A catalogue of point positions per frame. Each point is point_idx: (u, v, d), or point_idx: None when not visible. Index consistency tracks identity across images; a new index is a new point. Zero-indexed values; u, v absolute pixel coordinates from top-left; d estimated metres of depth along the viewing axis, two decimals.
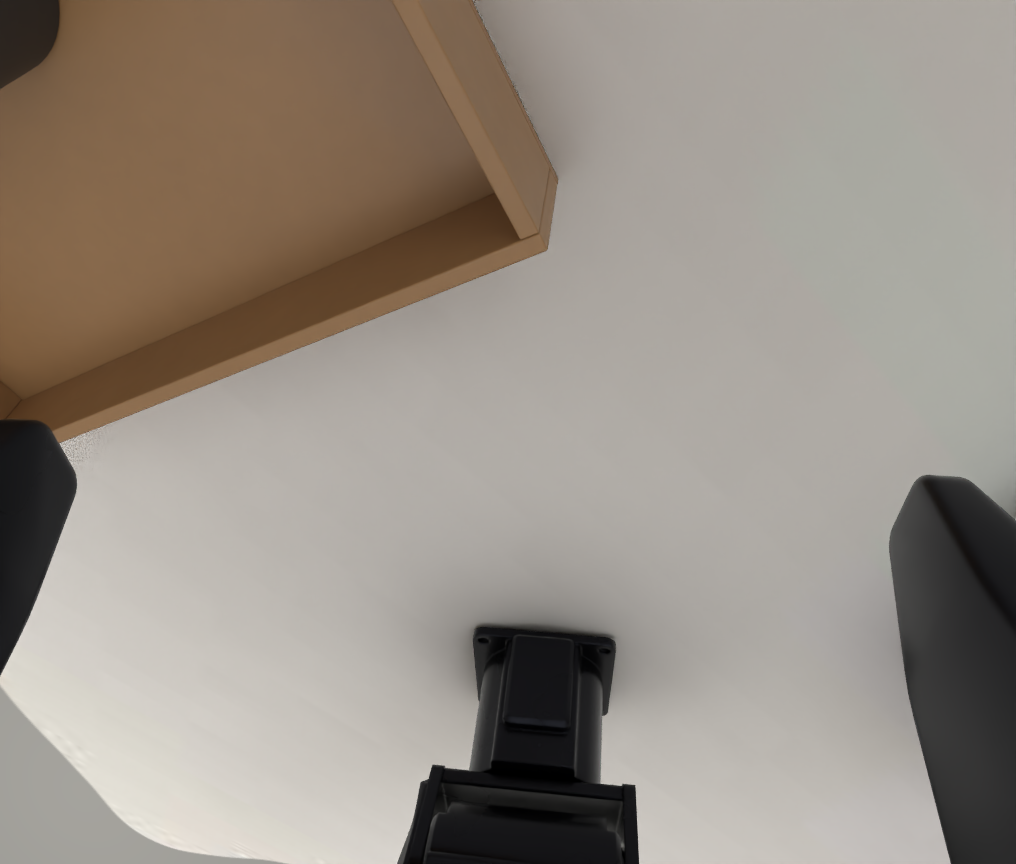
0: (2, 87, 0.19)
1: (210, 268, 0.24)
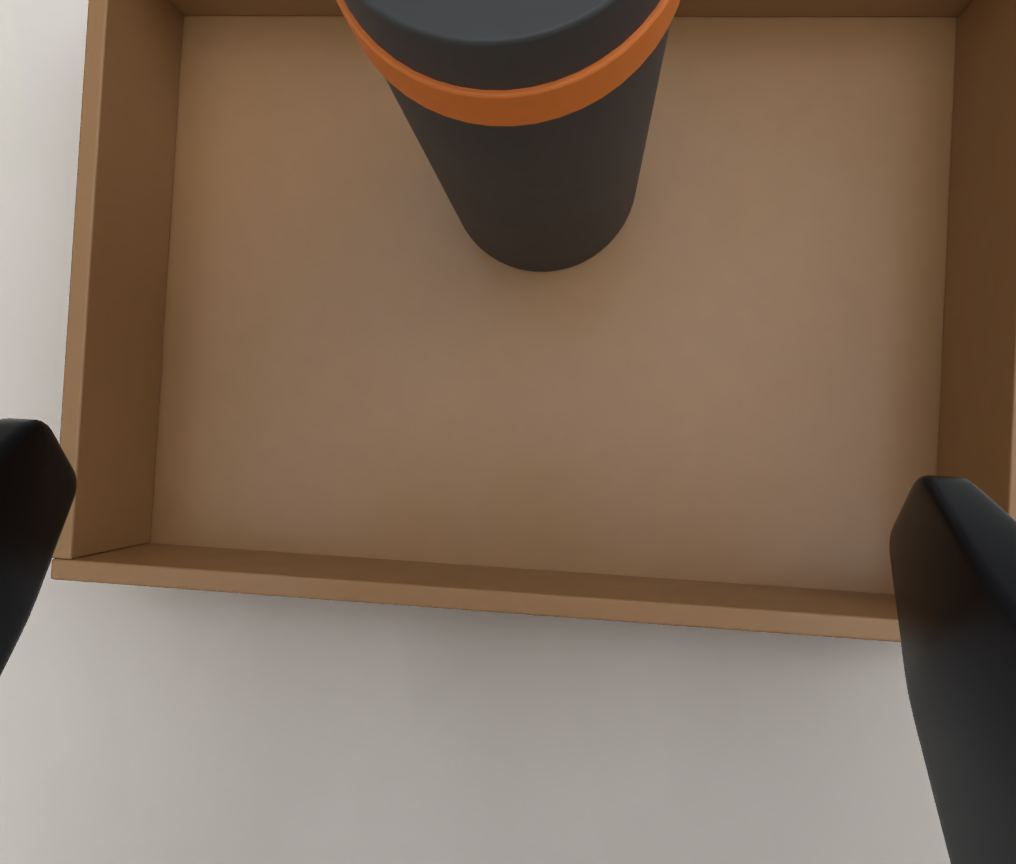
0: (533, 258, 0.20)
1: (529, 517, 0.21)
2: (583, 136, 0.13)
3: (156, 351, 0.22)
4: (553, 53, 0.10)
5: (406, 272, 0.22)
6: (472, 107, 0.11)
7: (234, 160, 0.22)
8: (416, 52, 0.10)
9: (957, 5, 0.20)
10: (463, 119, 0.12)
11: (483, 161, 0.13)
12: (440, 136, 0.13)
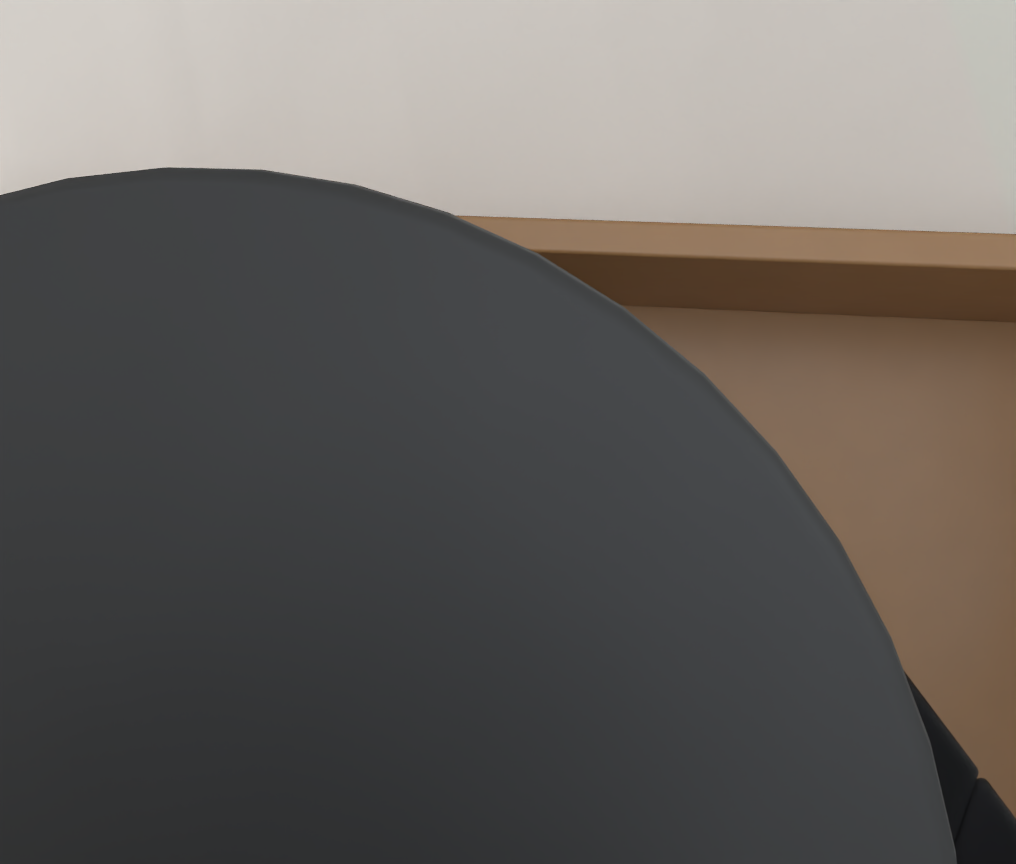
0: None
1: None
2: None
3: None
4: None
5: None
6: None
7: None
8: None
9: None
10: None
11: None
12: None
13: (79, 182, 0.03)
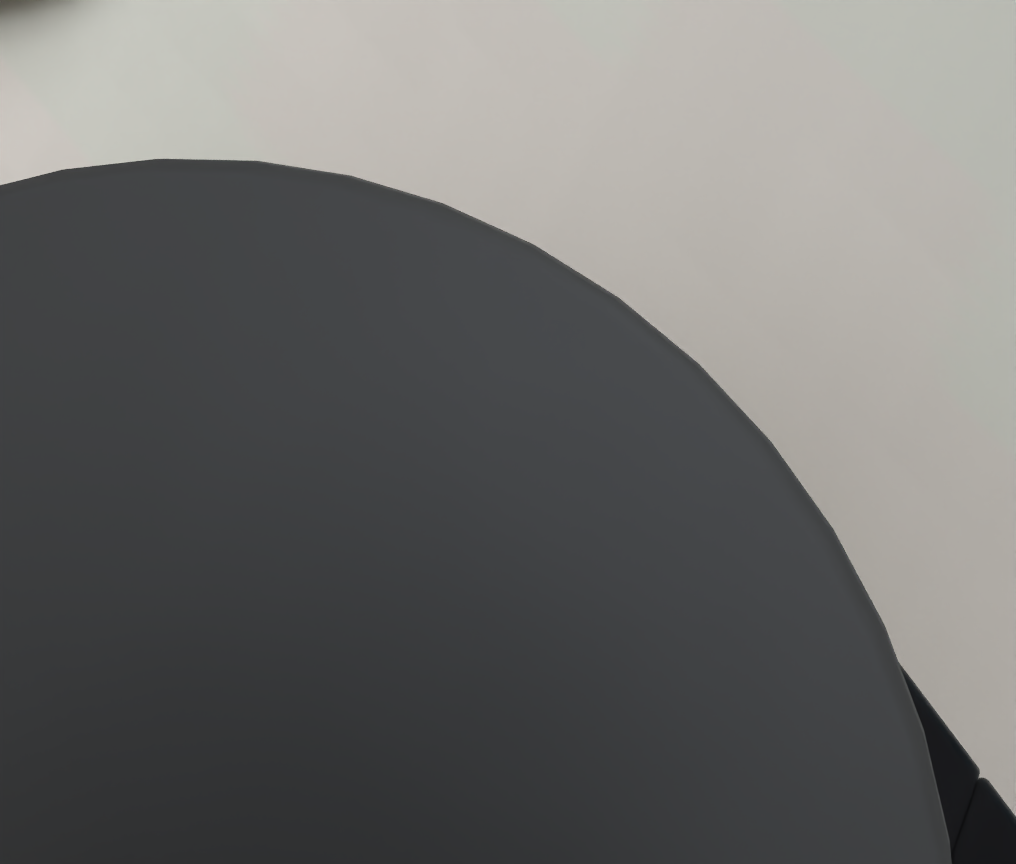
0: None
1: None
2: None
3: None
4: None
5: None
6: None
7: None
8: None
9: None
10: None
11: None
12: None
13: (73, 171, 0.03)
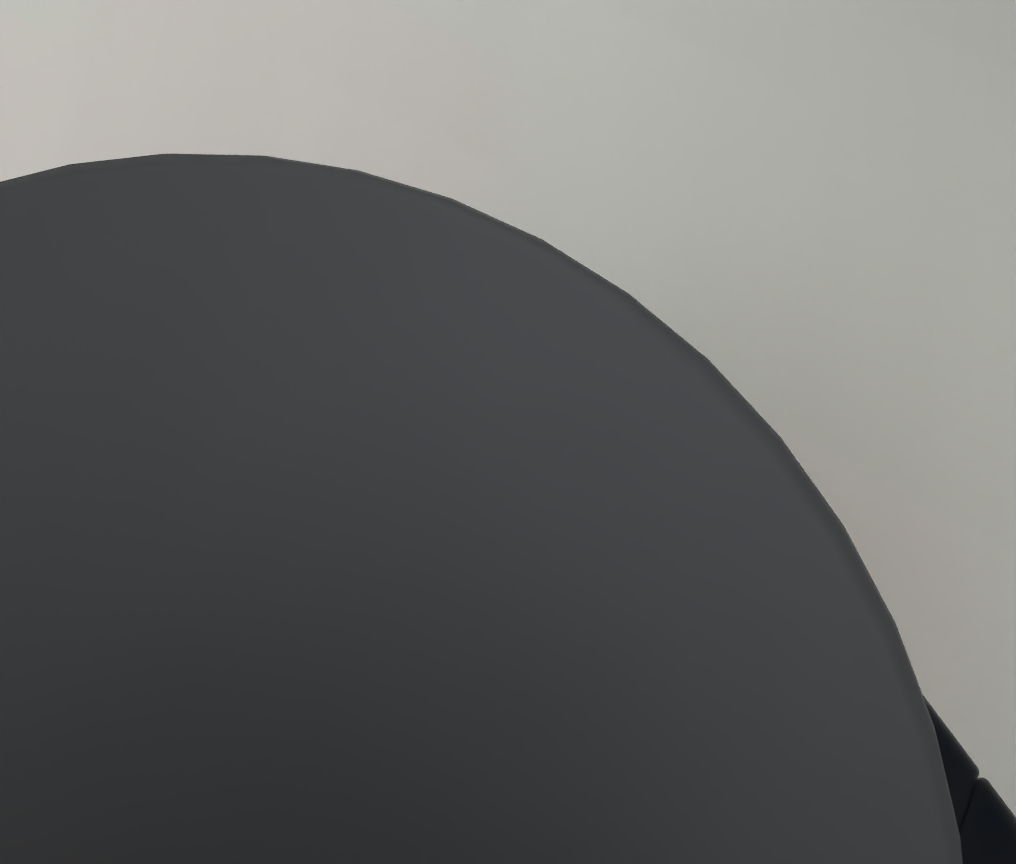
0: None
1: None
2: None
3: None
4: None
5: None
6: None
7: None
8: None
9: None
10: None
11: None
12: None
13: (80, 167, 0.03)
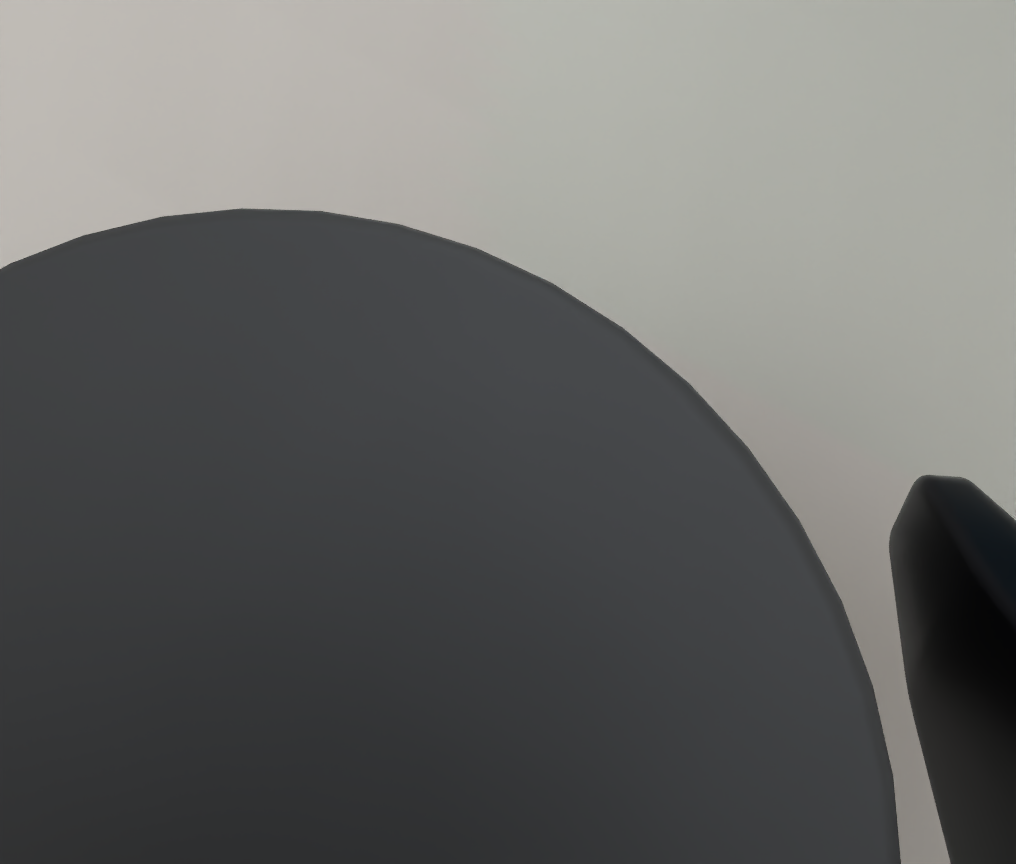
0: None
1: None
2: None
3: None
4: None
5: None
6: None
7: None
8: None
9: None
10: None
11: None
12: None
13: (165, 220, 0.03)
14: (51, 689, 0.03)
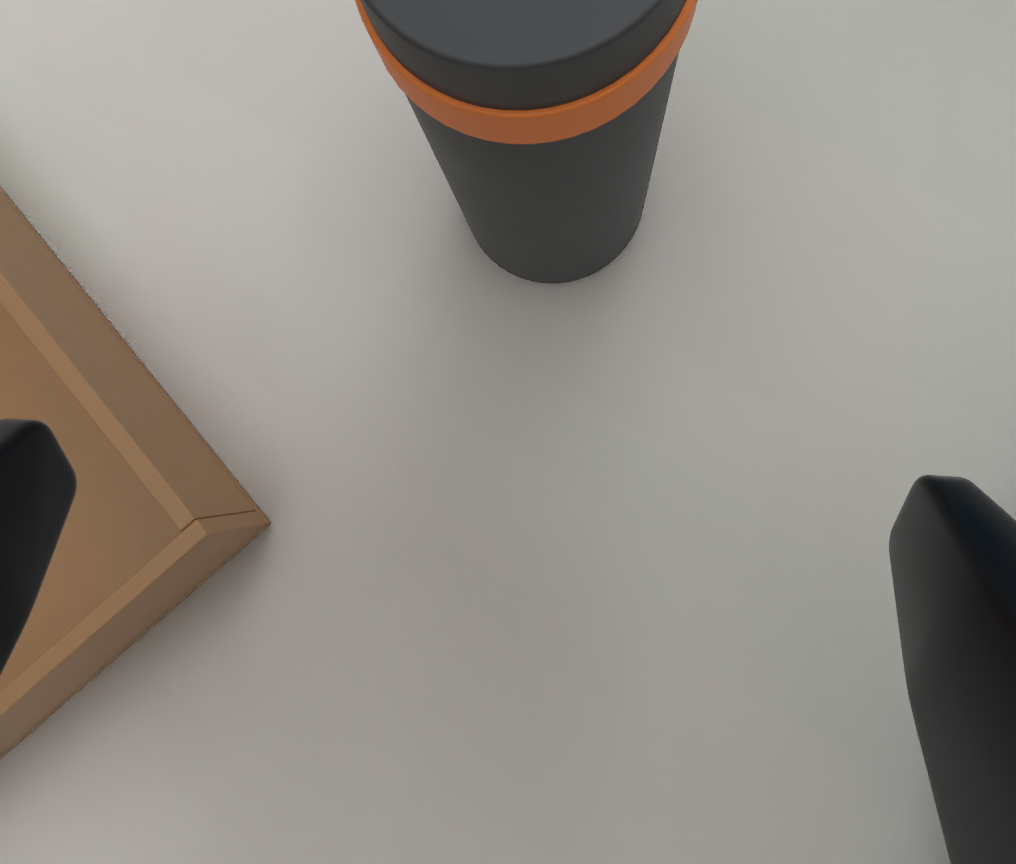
0: (544, 270, 0.20)
1: None
2: (596, 154, 0.13)
3: None
4: (570, 78, 0.10)
5: None
6: (492, 126, 0.12)
7: None
8: (441, 74, 0.11)
9: None
10: (483, 137, 0.12)
11: (499, 177, 0.14)
12: (458, 152, 0.14)
13: None
14: None
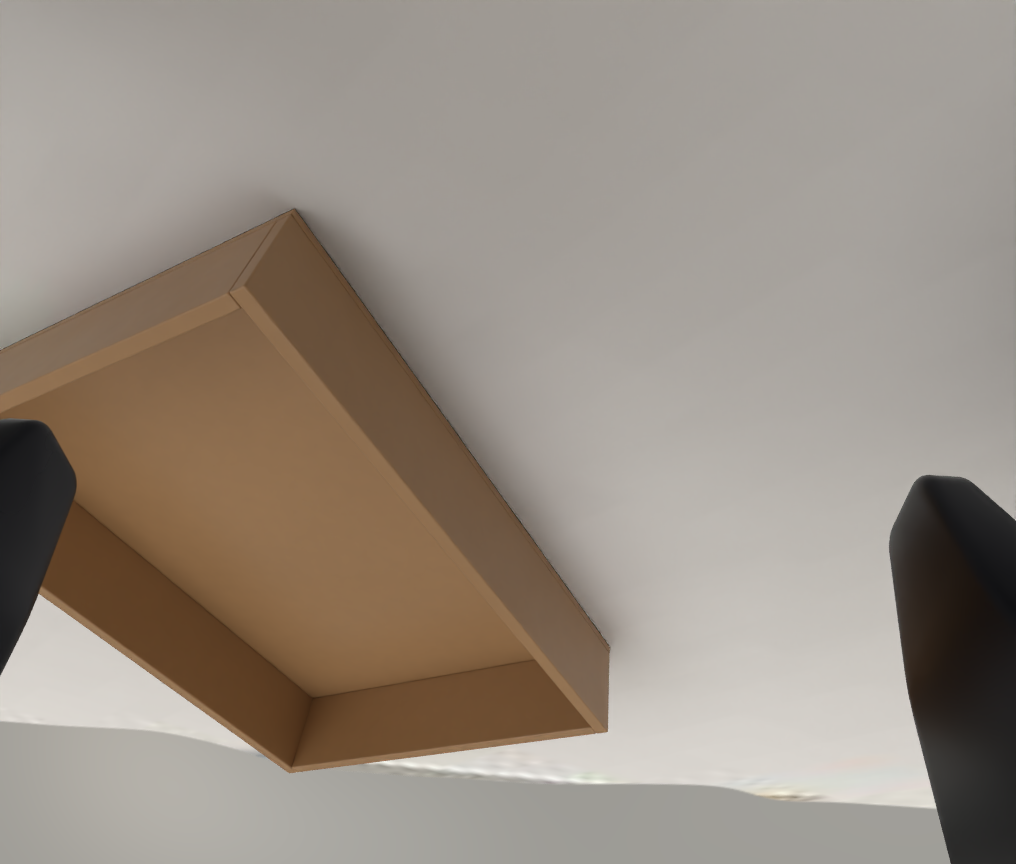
0: None
1: None
2: None
3: (482, 675, 0.35)
4: None
5: (350, 591, 0.32)
6: None
7: (360, 666, 0.36)
8: None
9: None
10: None
11: None
12: None
13: None
14: None
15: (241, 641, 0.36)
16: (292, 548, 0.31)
